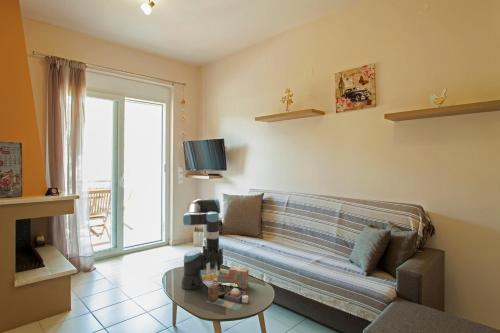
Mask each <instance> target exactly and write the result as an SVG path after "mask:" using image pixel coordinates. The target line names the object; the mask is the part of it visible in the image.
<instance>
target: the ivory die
mask: <svg viewBox="0 0 500 333" xmlns="http://www.w3.org/2000/svg"><path fill="white" fill-rule="evenodd" d="M248 302H249V295H247V294H246V295H243V297H242V300H241V303H246V304H248Z"/></svg>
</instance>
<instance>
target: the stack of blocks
mask: <svg viewBox="0 0 500 333" xmlns="http://www.w3.org/2000/svg"><path fill="white" fill-rule="evenodd" d="M216 281H217V282H221V283H235V284H237V285H238V287H240V288H239V289H241V288H242V290H246V289H247V288H248V287H249V268H246V267H239V266H233V265H232V266H231V267H230V268H229V269H224V268H220V270H219V275H218V276H216ZM217 282H216V283H217Z"/></svg>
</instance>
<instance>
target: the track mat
mask: <svg viewBox="0 0 500 333" xmlns="http://www.w3.org/2000/svg"><path fill="white" fill-rule="evenodd" d="M206 303H209V304H212V305H216V306H220V307H224V308H227V309H230V310H235V311H239V309H241V307H242V306H243V304H241V303H236V302H232V301H228V300H225V299H221V298H219V297H218V300H217V301H216V302H214V303H213V302H209V301H208V300H206Z"/></svg>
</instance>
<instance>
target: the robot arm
mask: <svg viewBox="0 0 500 333" xmlns="http://www.w3.org/2000/svg"><path fill="white" fill-rule="evenodd" d="M186 211H187V213H183V217H182V220H183V222H182V223H183V225H184V226H201V225H203V226H205V245H203V246H202V250H203V251H201V250H199V249H194V250H189V251H187V252H186V253H185V254H184V255H183V276H182V280H181V282H180V283H181V288H182V289H184V290H187V291H192V290H197V289H200V288H202V287H203V286H204V280H203V276H202V273H201V272H202V271H206V275H208V274H210V273H211V271H212V270H213V271H214V270H215V276H216V277H217V276H218V275H219V270H220V269H221V267H222V265H223V264H224V254H223V251H224V248H223V247H222V248H221V247H220V245H219V244H220V229H219V228H220V217H219V216H220V215H219V214H220V213H221V204H220V200H219V199H218V198H197V199H195V200H192V201H191V202H189V203H188V205H187V208H186Z"/></svg>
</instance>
